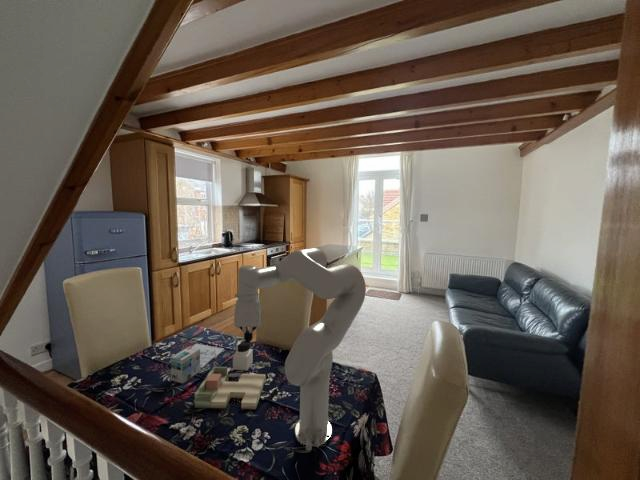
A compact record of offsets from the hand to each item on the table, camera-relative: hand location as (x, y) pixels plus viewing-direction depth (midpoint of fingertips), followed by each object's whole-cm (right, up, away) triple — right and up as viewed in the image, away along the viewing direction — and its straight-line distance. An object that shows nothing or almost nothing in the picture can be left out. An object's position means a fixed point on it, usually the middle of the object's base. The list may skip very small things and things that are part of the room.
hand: (248, 341), depth 107 cm
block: (-15, -19, +2) cm, 24 cm away
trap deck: (-7, -22, +2) cm, 23 cm away
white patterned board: (-33, -19, +29) cm, 48 cm away
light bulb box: (-31, -20, +12) cm, 39 cm away
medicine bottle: (-8, -20, +21) cm, 30 cm away
